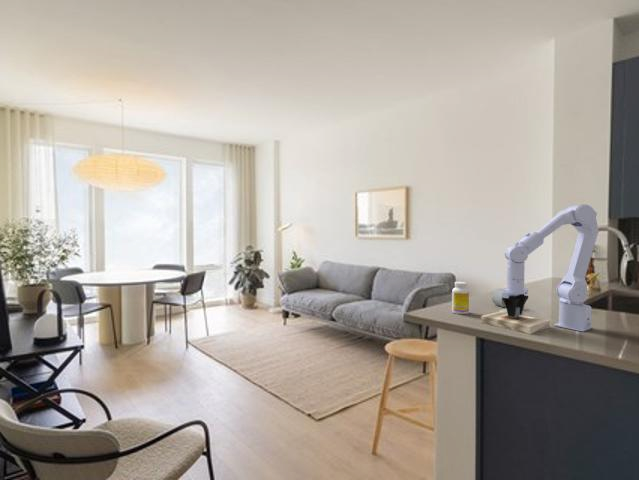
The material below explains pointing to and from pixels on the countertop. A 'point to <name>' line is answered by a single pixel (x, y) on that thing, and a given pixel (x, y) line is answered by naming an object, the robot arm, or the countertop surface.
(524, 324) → the hole plate
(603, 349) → the countertop surface
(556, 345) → the countertop surface
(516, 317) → the peg
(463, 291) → the supplement bottle
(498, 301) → the ceramic mug
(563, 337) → the countertop surface
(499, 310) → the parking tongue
